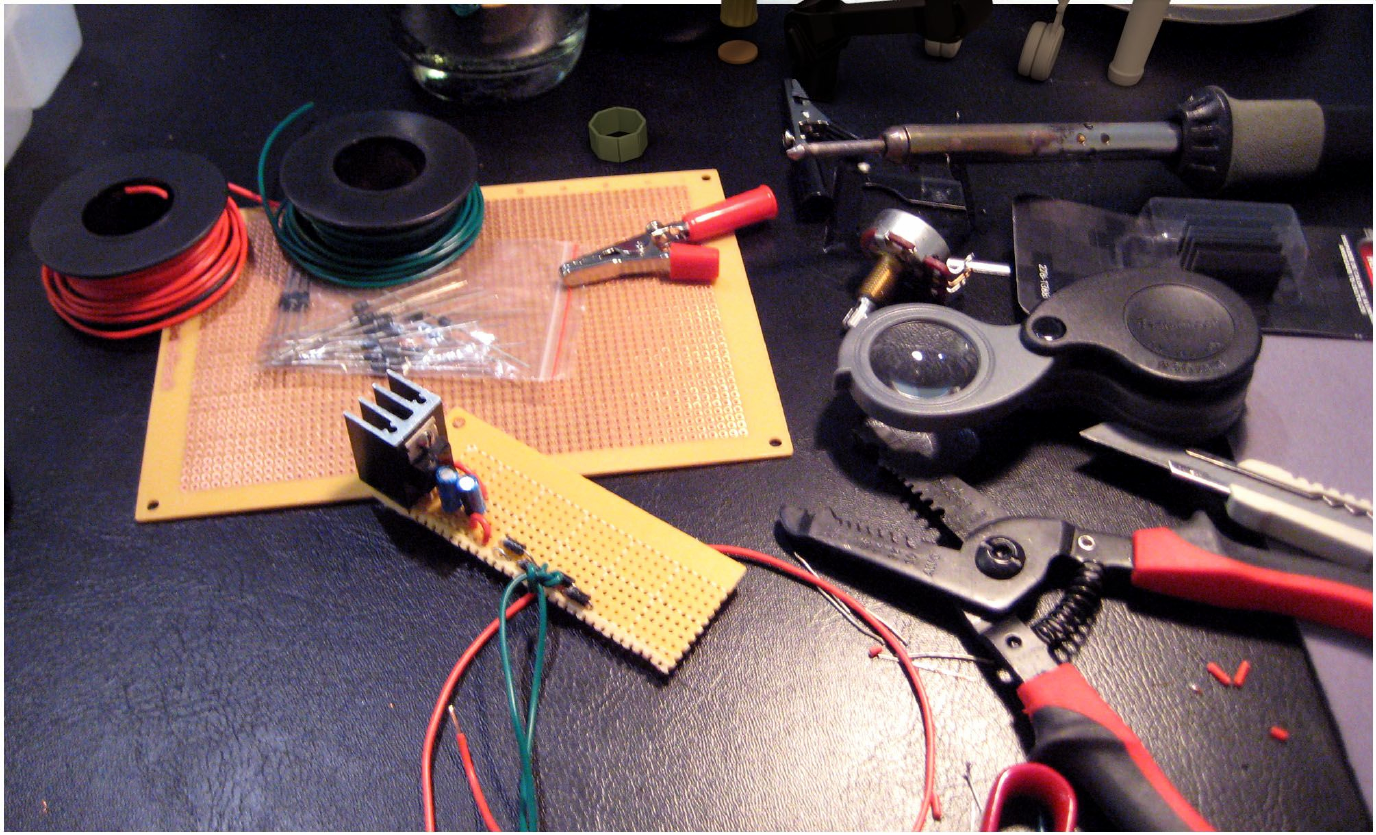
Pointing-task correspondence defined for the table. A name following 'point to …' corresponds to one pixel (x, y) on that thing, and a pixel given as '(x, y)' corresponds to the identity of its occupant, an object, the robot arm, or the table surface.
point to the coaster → (737, 52)
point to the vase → (738, 12)
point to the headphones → (1036, 49)
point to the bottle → (1137, 41)
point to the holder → (615, 122)
